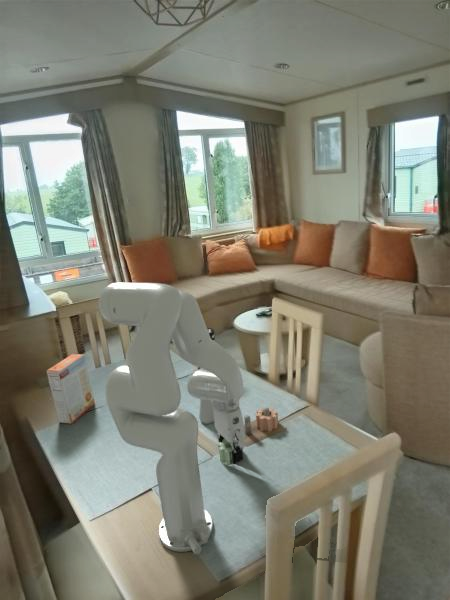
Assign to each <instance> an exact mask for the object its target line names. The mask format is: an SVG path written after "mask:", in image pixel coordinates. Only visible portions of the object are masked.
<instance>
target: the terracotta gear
mask: <svg viewBox="0 0 450 600" xmlns="http://www.w3.org/2000/svg"><path fill="white" fill-rule="evenodd" d="M264 408H265V407H262V409H258V410H256V413H255V420H256V425H257V428H260V430H261V431H264V430H268V432H270V431H272V429H277V428H278V426H277V425H278V422H279V419H278V418H279V416H278V410H275V409H274V408H273V407H269V415H270V416H264V411H263V409H264Z"/></svg>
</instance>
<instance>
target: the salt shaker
mask: <svg viewBox="0 0 450 600" xmlns="http://www.w3.org/2000/svg"><path fill="white" fill-rule="evenodd" d="M198 419H199V421H200V422H201V423H203V424H205V425H210V424H212V423H214V409H213V404H212V400H204V399H200V400H199V413H198Z"/></svg>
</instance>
